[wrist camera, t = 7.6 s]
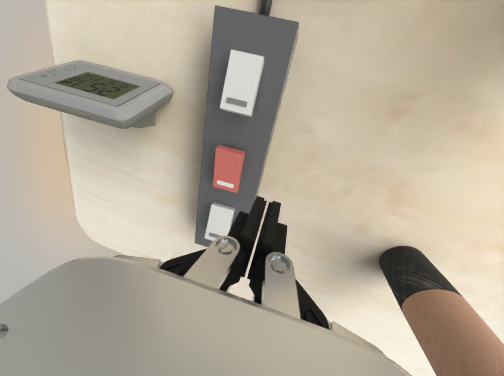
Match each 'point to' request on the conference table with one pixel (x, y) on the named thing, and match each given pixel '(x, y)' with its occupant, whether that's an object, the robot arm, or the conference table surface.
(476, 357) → the travel mug
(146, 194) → the conference table surface
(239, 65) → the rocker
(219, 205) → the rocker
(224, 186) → the rocker middle
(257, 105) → the power strip
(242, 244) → the robot arm
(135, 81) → the digital clock
